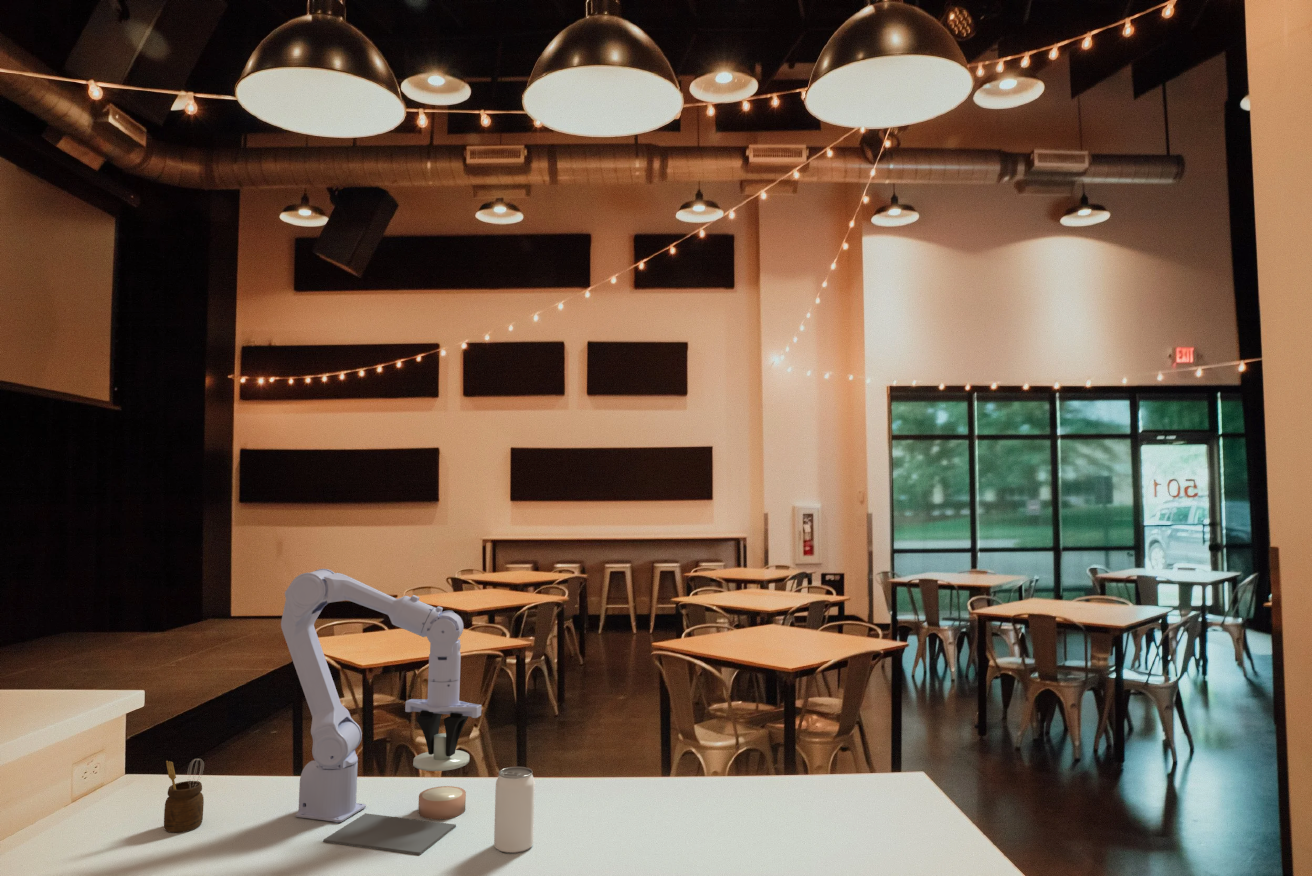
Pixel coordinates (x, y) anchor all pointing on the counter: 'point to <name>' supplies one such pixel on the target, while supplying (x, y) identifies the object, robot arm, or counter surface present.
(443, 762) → the lid
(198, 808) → the utensil holder
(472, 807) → the counter surface
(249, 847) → the counter surface
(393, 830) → the mat
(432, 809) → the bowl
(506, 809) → the can
